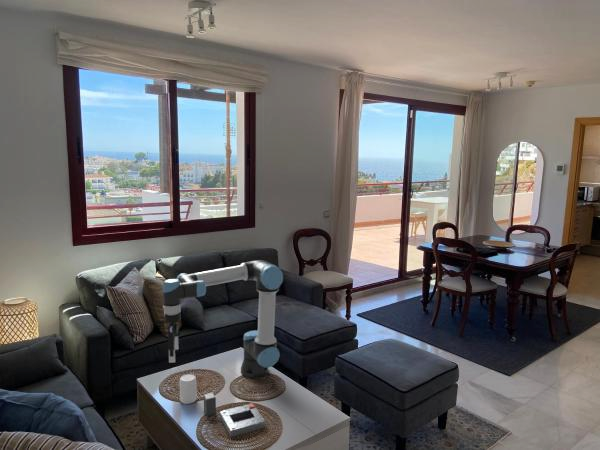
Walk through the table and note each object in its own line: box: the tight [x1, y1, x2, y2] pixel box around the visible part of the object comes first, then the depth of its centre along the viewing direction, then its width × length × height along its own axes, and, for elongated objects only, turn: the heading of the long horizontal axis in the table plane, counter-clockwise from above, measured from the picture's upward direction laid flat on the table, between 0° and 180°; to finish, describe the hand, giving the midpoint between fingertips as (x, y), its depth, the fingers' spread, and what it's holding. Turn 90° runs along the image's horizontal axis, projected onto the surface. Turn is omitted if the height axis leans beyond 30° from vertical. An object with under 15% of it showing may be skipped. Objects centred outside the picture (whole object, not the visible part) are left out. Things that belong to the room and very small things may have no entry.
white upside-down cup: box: [178, 373, 198, 405], centre depth 218 cm, size 8×8×12 cm
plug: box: [203, 392, 217, 417], centre depth 209 cm, size 4×4×8 cm
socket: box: [219, 402, 266, 438], centre depth 202 cm, size 16×16×4 cm
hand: (174, 355), depth 210 cm, fingers open, 13 cm apart
